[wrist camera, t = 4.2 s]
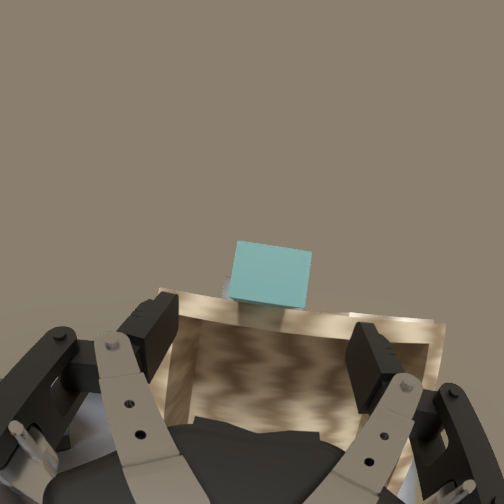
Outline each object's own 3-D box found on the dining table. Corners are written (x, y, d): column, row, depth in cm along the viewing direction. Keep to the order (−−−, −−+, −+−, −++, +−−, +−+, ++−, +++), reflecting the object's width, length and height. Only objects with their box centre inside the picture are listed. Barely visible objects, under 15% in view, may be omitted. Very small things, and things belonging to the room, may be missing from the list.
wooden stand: (143, 534, 17) (163, 264, 24) (170, 483, 31) (195, 281, 37) (365, 548, 16) (447, 304, 23) (340, 499, 30) (389, 308, 36)
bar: (228, 296, 14) (237, 240, 15) (243, 304, 36) (247, 281, 36) (304, 308, 14) (311, 252, 15) (274, 309, 36) (277, 286, 36)
